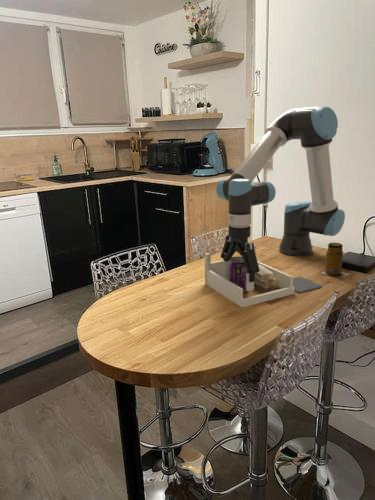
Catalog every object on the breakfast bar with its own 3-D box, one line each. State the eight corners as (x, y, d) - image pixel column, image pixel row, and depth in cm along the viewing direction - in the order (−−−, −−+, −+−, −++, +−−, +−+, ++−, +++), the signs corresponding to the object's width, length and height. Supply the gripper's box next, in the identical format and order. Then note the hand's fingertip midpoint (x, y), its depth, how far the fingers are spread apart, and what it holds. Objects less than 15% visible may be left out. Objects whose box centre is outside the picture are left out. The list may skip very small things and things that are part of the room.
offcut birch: (260, 270, 145) (260, 264, 144) (273, 279, 136) (273, 273, 135) (248, 272, 143) (248, 266, 143) (261, 281, 134) (261, 275, 134)
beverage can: (242, 296, 132) (242, 263, 129) (224, 292, 136) (225, 260, 133) (252, 289, 138) (253, 258, 134) (235, 285, 142) (235, 254, 138)
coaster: (300, 277, 147) (300, 276, 147) (321, 287, 138) (322, 285, 138) (277, 283, 143) (277, 281, 143) (298, 293, 133) (298, 291, 133)
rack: (252, 273, 154) (253, 244, 150) (294, 293, 133) (296, 261, 130) (205, 283, 144) (204, 253, 141) (241, 307, 124) (242, 272, 120)
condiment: (330, 269, 156) (332, 240, 153) (349, 274, 150) (352, 244, 146) (319, 273, 152) (322, 244, 148) (339, 279, 145) (342, 248, 142)
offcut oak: (255, 276, 146) (255, 270, 145) (276, 285, 137) (276, 278, 136) (245, 279, 143) (245, 273, 143) (266, 288, 134) (266, 281, 134)
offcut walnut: (253, 281, 147) (253, 275, 147) (275, 291, 137) (275, 285, 137) (243, 284, 145) (243, 278, 144) (264, 294, 135) (265, 288, 134)
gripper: (211, 220, 139) (211, 275, 145) (252, 234, 118) (250, 298, 124) (228, 217, 142) (228, 271, 148) (271, 231, 121) (269, 293, 127)
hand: (238, 283), depth 136 cm, fingers open, 13 cm apart
